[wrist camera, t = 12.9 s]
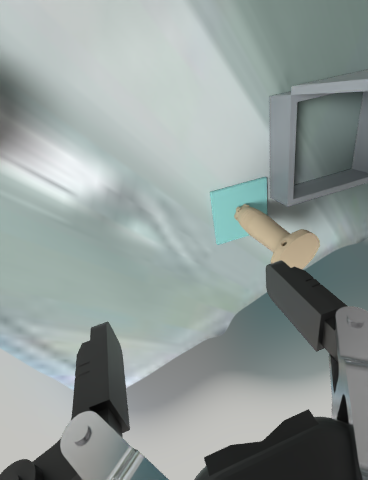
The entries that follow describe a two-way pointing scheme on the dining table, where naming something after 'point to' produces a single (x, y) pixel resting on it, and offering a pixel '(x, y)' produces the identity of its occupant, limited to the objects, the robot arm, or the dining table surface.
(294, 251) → the handle
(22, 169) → the dining table surface
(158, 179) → the dining table surface
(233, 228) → the pad
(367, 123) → the case
